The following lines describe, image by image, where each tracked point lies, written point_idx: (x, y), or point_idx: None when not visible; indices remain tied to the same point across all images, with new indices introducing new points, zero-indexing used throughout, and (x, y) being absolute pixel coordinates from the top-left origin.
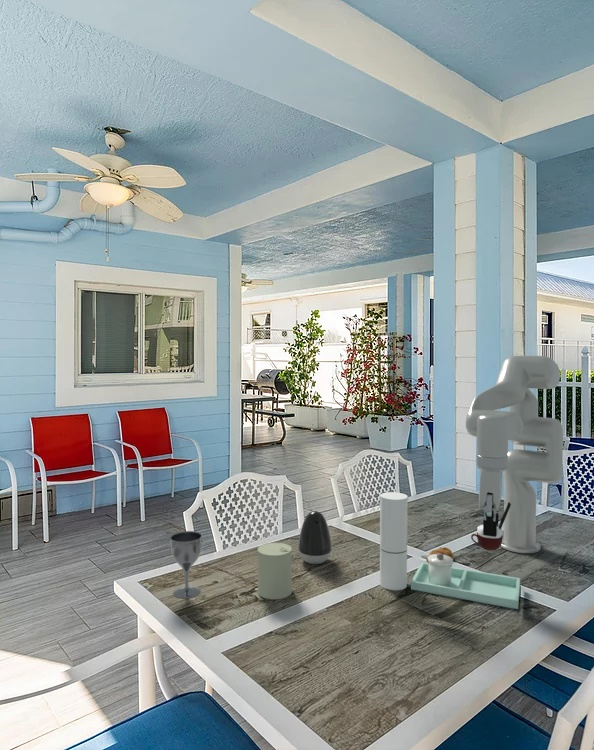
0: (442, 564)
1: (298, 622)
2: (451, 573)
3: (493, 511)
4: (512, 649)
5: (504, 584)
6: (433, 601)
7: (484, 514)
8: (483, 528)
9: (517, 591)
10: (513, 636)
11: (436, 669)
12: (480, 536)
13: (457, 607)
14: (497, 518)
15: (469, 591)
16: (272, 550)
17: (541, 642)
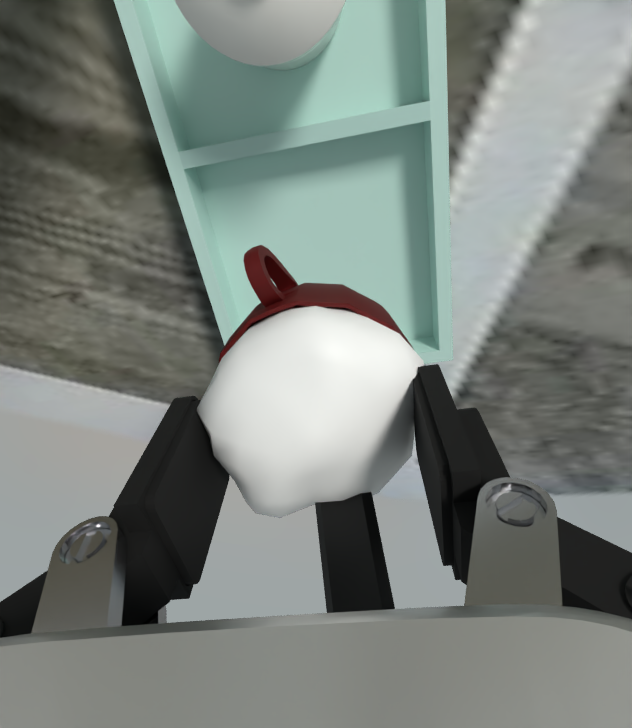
0: (181, 8)
1: None
2: (285, 63)
3: (458, 565)
4: (29, 387)
5: (428, 295)
6: (102, 39)
7: (46, 592)
8: (157, 434)
9: None
10: (96, 378)
11: None
12: (225, 347)
13: (134, 168)
14: (434, 528)
15: (189, 211)
16: None
17: (124, 435)
